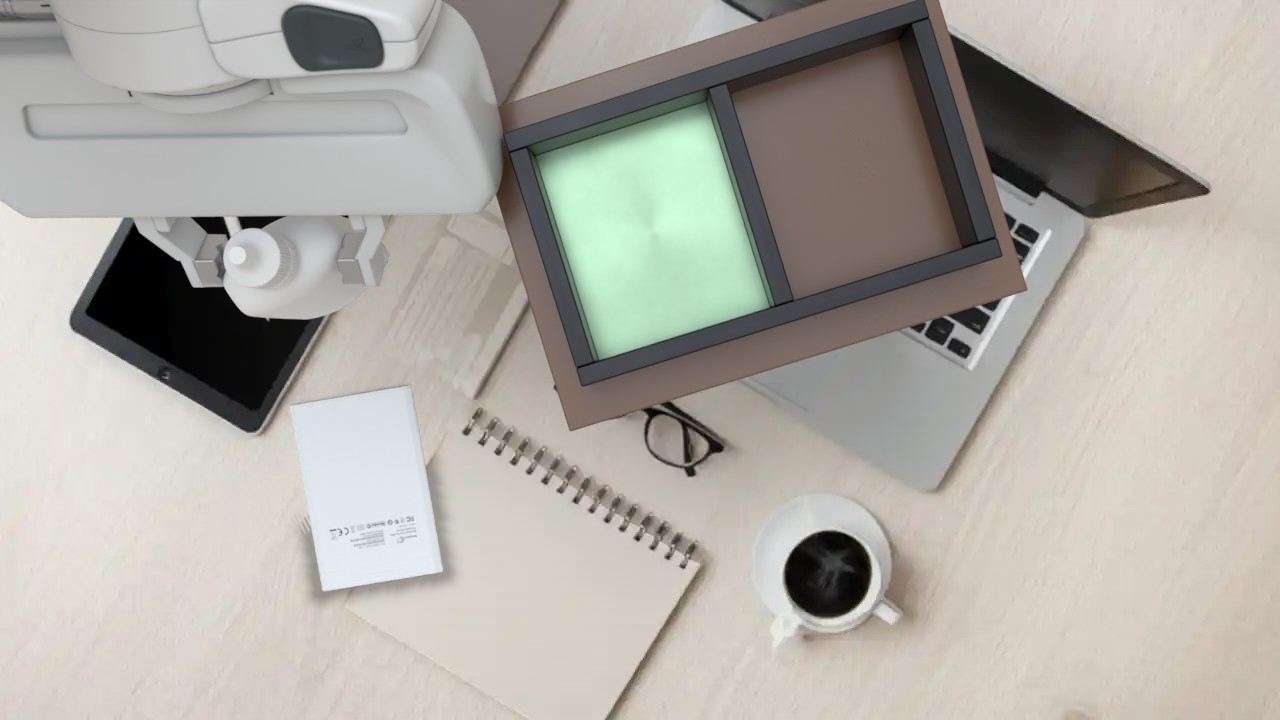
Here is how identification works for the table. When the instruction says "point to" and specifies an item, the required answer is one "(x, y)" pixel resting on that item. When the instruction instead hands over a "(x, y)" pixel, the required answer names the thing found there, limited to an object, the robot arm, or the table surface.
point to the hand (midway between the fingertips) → (292, 277)
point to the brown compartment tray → (751, 203)
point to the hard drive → (366, 488)
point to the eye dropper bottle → (290, 268)
